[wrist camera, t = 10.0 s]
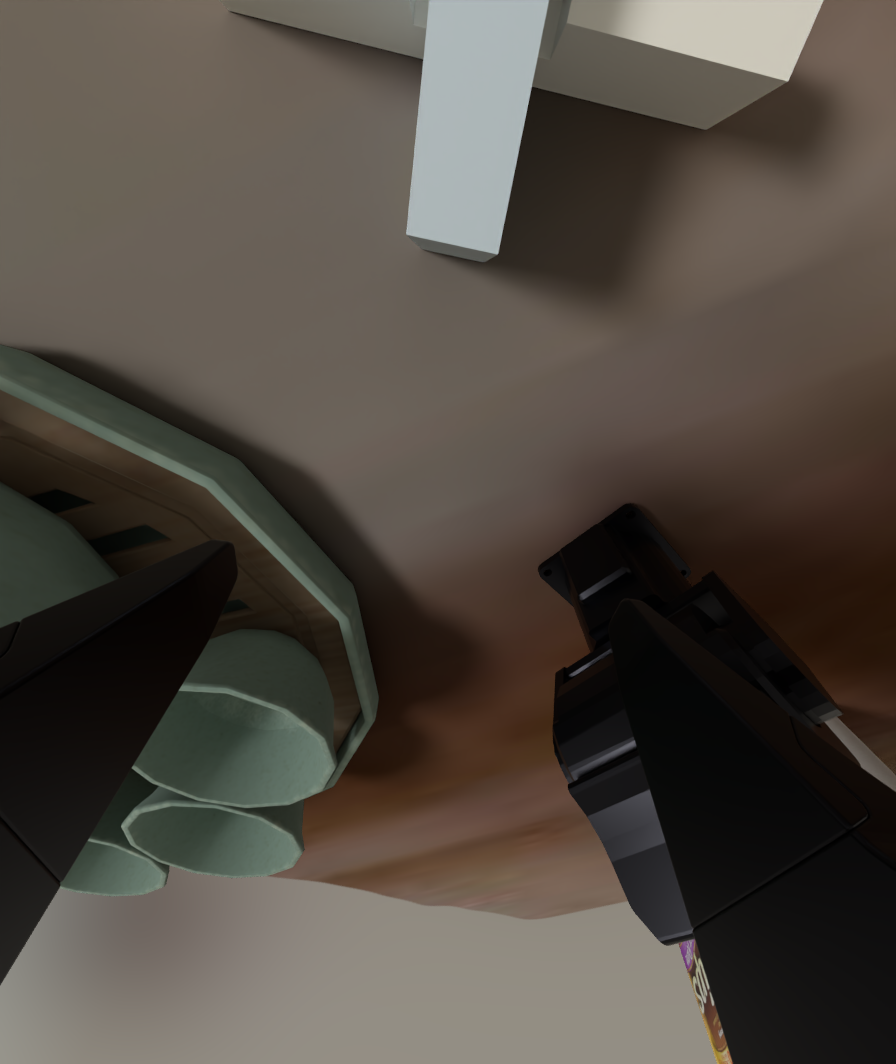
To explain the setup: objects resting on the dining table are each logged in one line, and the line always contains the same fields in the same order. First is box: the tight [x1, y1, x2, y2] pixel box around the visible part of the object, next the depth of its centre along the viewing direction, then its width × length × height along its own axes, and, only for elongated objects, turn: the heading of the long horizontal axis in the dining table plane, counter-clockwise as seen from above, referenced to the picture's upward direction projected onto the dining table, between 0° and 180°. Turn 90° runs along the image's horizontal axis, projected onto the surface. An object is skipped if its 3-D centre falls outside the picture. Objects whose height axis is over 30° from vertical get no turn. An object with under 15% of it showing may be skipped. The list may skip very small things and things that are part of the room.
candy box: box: [679, 939, 733, 1064], centre depth 39 cm, size 9×4×15 cm, turn 2°
